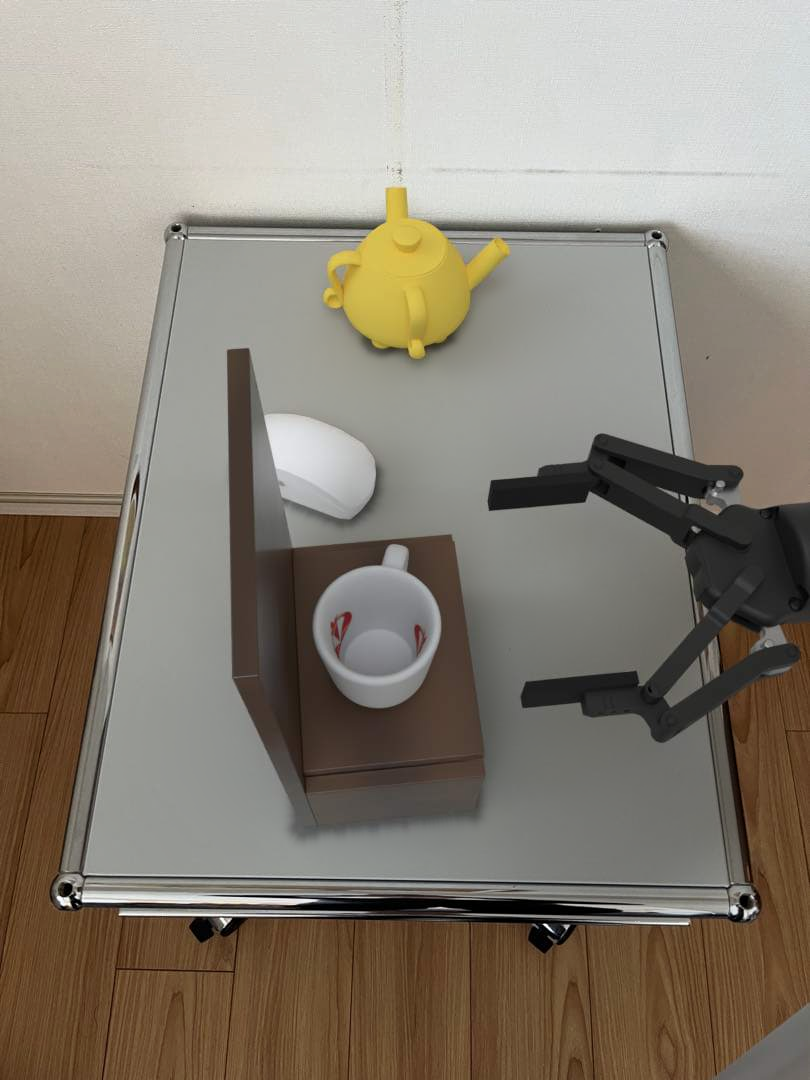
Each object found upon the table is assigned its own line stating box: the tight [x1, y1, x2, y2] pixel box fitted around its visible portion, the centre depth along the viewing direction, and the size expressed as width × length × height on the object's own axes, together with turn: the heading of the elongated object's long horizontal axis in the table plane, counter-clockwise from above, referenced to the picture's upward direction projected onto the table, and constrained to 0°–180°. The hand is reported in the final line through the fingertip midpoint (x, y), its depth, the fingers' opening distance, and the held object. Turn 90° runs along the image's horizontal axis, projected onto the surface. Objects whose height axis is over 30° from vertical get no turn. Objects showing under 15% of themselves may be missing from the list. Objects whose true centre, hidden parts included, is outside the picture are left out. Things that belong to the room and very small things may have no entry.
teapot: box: [322, 186, 511, 360], centre depth 90 cm, size 14×14×11 cm
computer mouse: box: [264, 413, 377, 520], centre depth 83 cm, size 6×13×6 cm, turn 67°
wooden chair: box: [226, 347, 486, 829], centre depth 61 cm, size 13×18×34 cm
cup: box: [312, 544, 441, 708], centre depth 62 cm, size 11×8×8 cm
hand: (505, 590), depth 58 cm, fingers open, 13 cm apart
